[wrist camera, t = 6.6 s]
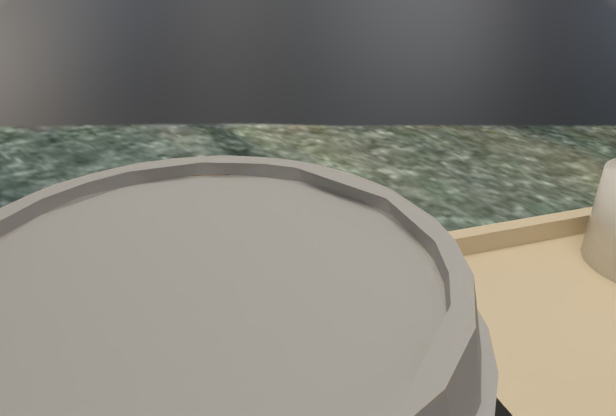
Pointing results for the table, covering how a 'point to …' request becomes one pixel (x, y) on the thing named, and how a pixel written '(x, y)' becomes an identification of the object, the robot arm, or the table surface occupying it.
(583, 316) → the serving tray
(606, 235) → the white rounded cylinder
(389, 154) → the table surface
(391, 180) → the table surface
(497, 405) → the robot arm
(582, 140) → the table surface
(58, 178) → the table surface
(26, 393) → the disposable coffee cup
